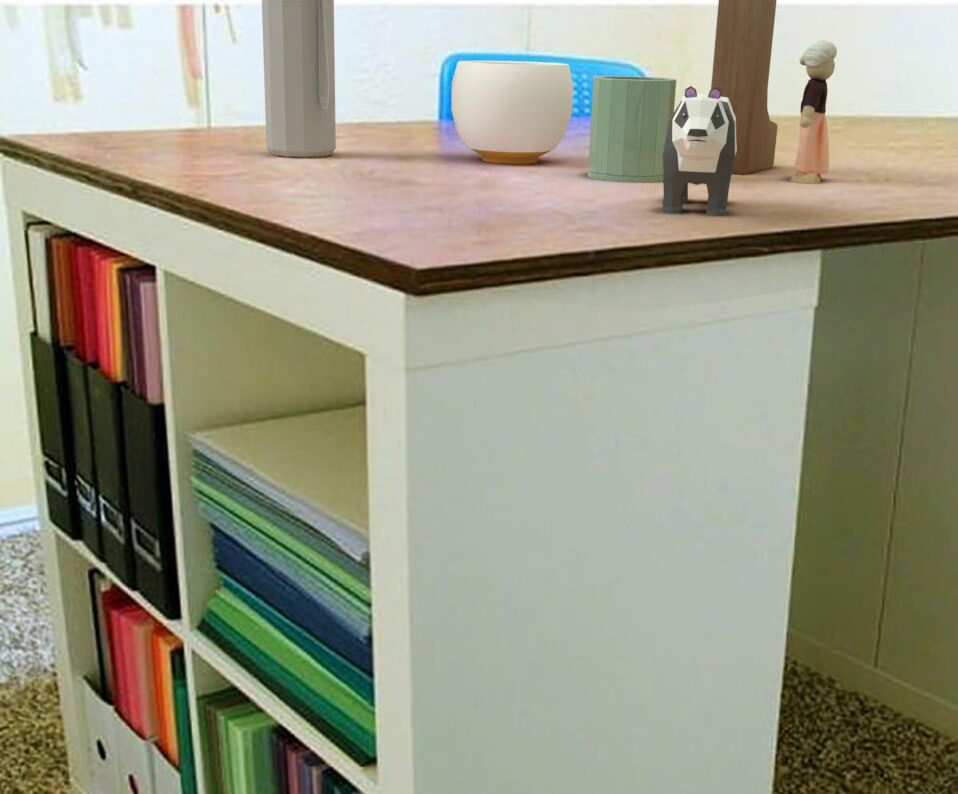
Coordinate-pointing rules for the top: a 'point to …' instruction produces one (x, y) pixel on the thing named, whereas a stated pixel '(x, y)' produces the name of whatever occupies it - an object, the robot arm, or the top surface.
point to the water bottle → (299, 77)
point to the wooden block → (746, 77)
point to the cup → (511, 108)
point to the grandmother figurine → (814, 114)
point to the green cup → (629, 127)
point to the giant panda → (699, 151)
